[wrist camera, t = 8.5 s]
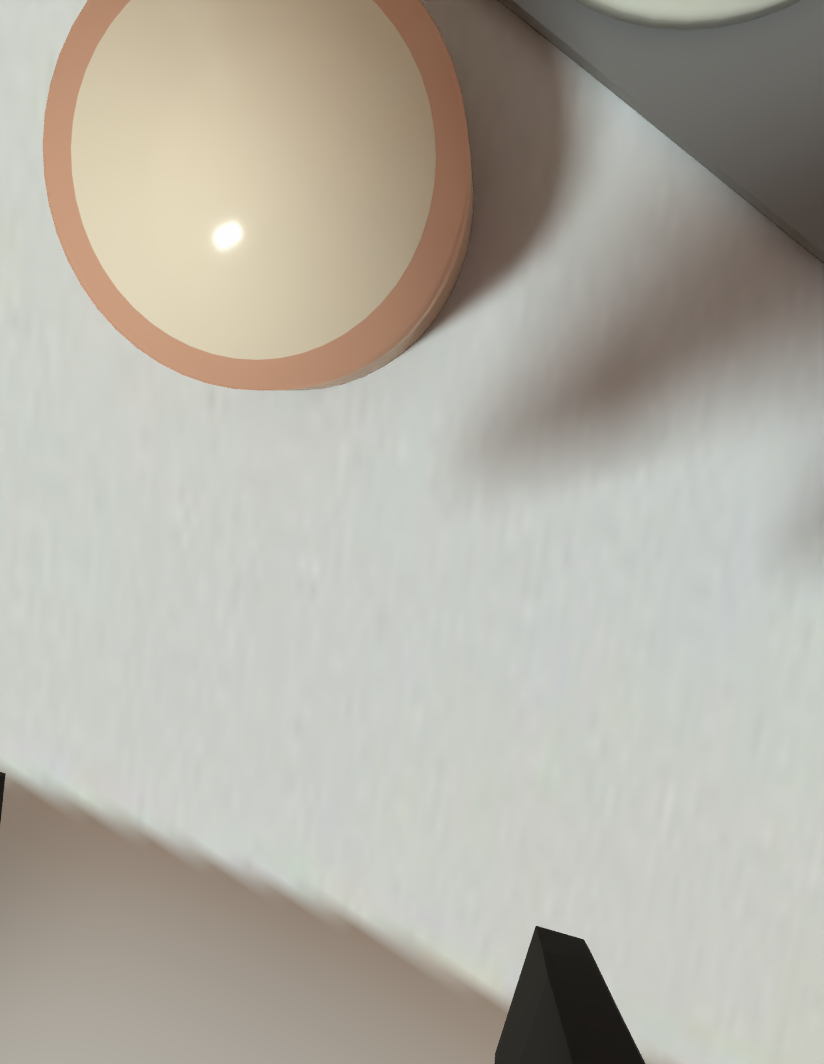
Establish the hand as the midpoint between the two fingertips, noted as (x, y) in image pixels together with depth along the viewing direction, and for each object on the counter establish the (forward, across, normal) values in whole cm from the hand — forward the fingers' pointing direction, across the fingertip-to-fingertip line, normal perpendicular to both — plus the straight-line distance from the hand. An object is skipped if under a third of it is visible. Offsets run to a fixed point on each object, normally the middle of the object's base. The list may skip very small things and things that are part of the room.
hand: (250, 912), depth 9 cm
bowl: (+9, +4, -10) cm, 14 cm away
